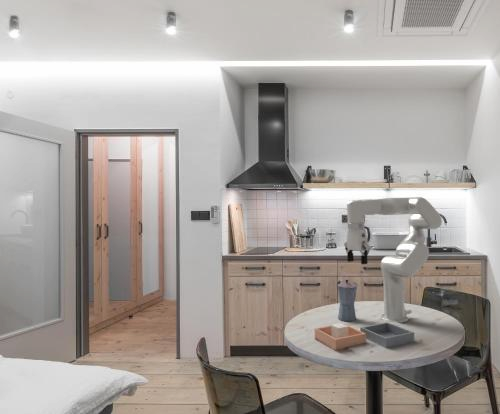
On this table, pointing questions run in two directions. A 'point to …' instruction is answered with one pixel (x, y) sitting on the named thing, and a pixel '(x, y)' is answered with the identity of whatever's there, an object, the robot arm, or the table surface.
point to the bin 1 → (340, 343)
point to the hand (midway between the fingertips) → (357, 262)
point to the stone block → (339, 330)
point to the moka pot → (346, 301)
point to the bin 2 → (387, 334)
